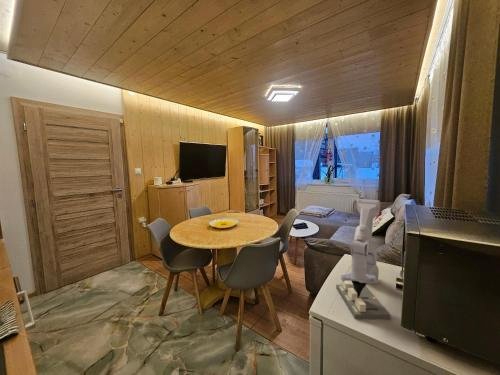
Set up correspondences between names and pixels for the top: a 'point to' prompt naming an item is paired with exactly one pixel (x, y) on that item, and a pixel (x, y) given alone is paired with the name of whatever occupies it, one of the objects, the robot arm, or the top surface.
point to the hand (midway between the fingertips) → (357, 295)
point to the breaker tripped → (352, 293)
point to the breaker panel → (372, 304)
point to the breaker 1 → (346, 285)
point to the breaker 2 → (360, 304)
